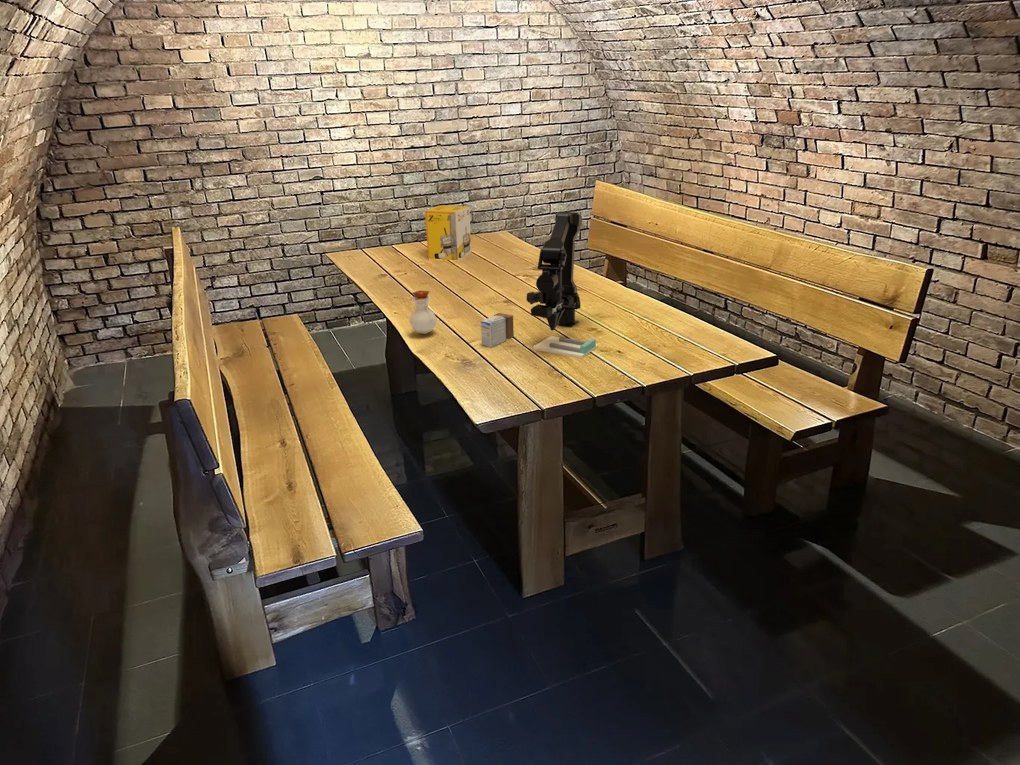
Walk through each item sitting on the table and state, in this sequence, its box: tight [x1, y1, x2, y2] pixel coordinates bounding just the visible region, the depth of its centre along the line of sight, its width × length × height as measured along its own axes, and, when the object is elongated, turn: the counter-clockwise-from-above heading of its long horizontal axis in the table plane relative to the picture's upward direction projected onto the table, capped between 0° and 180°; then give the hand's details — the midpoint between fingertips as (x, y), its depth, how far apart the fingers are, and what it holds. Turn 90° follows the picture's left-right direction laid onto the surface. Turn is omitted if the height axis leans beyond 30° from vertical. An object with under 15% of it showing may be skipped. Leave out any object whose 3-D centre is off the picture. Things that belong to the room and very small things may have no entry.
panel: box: [493, 312, 515, 340], centre depth 252 cm, size 3×8×6 cm
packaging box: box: [424, 205, 472, 260], centre depth 359 cm, size 16×16×25 cm
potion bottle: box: [409, 290, 437, 335], centre depth 256 cm, size 9×10×15 cm
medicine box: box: [480, 315, 507, 348], centre depth 247 cm, size 8×4×9 cm, turn 141°
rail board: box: [532, 335, 599, 359], centre depth 241 cm, size 12×18×4 cm, turn 57°
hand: (552, 330), depth 242 cm, fingers closed
